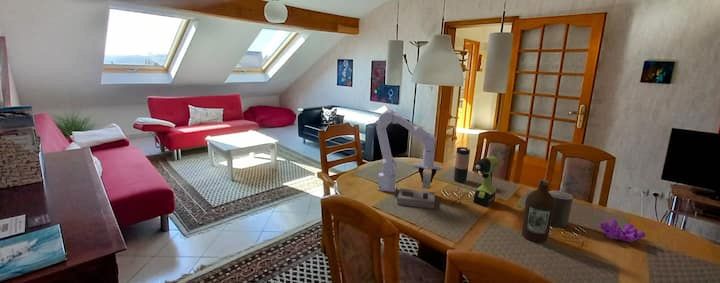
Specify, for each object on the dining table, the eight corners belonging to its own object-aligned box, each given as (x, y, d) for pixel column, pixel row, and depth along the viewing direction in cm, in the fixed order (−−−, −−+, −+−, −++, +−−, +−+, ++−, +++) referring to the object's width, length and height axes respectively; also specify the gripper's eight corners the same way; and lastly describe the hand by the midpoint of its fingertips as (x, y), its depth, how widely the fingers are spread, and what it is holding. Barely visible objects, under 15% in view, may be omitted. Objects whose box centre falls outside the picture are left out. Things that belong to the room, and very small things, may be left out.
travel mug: (452, 181, 191) (455, 149, 185) (454, 177, 197) (458, 146, 192) (465, 184, 187) (469, 151, 182) (467, 179, 194) (471, 148, 188)
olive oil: (520, 227, 140) (529, 174, 133) (548, 234, 135) (559, 179, 128) (519, 239, 131) (528, 182, 124) (549, 246, 126) (560, 188, 119)
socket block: (397, 204, 160) (397, 197, 159) (399, 194, 171) (400, 188, 170) (433, 208, 156) (434, 202, 155) (434, 198, 167) (434, 192, 166)
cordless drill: (477, 214, 151) (484, 164, 144) (463, 209, 155) (469, 161, 149) (496, 199, 167) (502, 154, 161) (483, 195, 172) (488, 151, 165)
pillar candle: (555, 229, 139) (561, 197, 135) (537, 218, 148) (543, 188, 144) (572, 226, 142) (579, 195, 138) (554, 216, 151) (560, 186, 147)
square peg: (422, 188, 170) (423, 174, 168) (422, 185, 174) (423, 171, 172) (429, 189, 169) (431, 174, 167) (429, 186, 173) (431, 172, 171)
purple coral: (596, 238, 139) (599, 217, 141) (641, 250, 131) (643, 227, 133) (600, 233, 130) (603, 211, 133) (648, 245, 122) (651, 221, 124)
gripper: (414, 158, 165) (412, 183, 169) (442, 161, 162) (440, 186, 166) (415, 154, 172) (413, 178, 175) (442, 157, 169) (440, 181, 172)
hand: (426, 181), depth 171 cm, fingers closed on square peg, 4 cm apart
